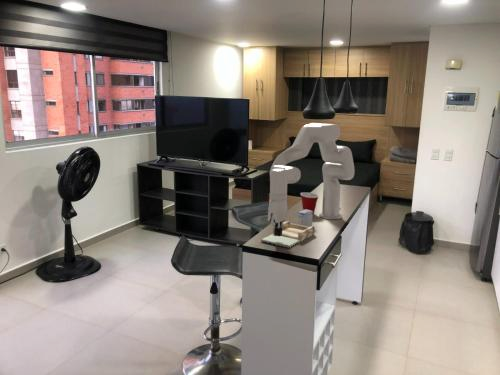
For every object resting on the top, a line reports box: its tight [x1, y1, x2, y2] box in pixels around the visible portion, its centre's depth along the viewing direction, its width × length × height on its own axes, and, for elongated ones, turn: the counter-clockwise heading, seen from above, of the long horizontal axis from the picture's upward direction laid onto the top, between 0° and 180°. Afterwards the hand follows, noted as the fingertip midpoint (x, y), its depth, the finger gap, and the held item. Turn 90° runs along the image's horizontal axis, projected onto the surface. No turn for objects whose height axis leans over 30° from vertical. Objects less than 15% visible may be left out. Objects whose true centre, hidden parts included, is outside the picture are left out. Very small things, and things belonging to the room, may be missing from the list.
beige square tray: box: [272, 220, 316, 243], centre depth 198 cm, size 14×15×4 cm
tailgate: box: [260, 233, 301, 249], centre depth 189 cm, size 1×15×11 cm
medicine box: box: [296, 209, 314, 227], centre depth 211 cm, size 8×4×9 cm, turn 141°
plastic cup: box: [300, 192, 320, 216], centre depth 235 cm, size 11×11×12 cm
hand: (278, 235), depth 186 cm, fingers closed
